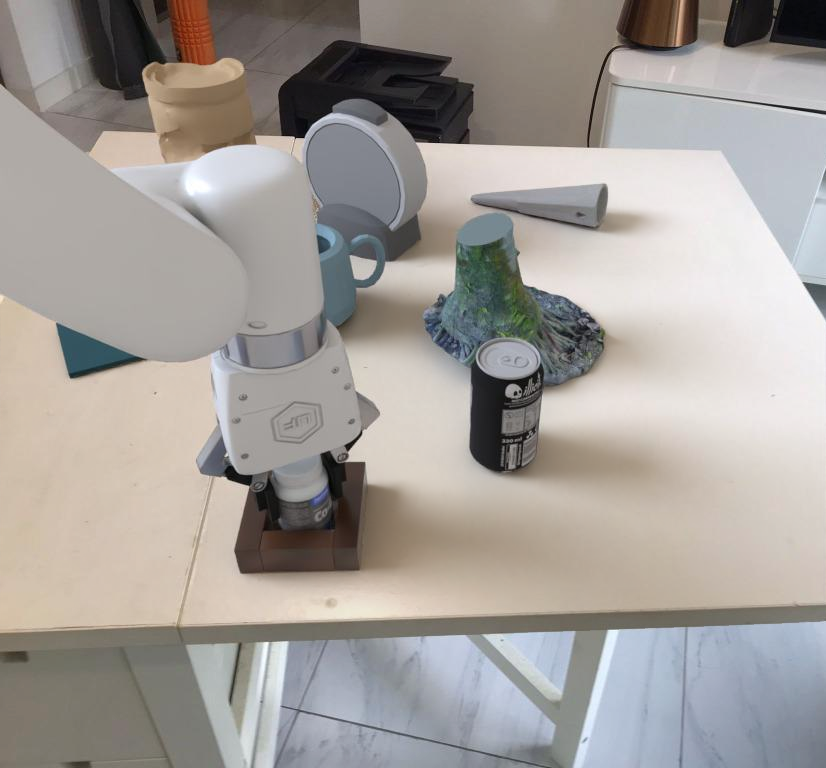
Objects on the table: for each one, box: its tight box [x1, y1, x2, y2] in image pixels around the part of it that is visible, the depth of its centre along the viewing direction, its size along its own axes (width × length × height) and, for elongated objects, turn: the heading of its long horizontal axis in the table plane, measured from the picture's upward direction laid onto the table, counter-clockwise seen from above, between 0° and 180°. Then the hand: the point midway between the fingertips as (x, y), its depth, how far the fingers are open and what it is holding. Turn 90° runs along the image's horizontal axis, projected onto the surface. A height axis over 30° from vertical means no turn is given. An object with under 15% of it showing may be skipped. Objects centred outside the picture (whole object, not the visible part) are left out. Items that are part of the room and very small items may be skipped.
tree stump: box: [422, 212, 606, 387], centre depth 88 cm, size 18×20×18 cm
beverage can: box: [468, 338, 544, 473], centre depth 75 cm, size 7×7×12 cm
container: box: [141, 57, 258, 164], centre depth 109 cm, size 13×13×18 cm
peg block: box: [233, 461, 368, 574], centre depth 70 cm, size 10×10×3 cm
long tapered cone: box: [470, 183, 609, 228], centre depth 116 cm, size 6×6×19 cm
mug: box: [315, 222, 386, 329], centre depth 92 cm, size 15×11×10 cm
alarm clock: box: [301, 98, 429, 262], centre depth 103 cm, size 16×10×18 cm, turn 62°
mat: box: [55, 322, 145, 379], centre depth 89 cm, size 10×10×1 cm
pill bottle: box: [270, 454, 335, 531], centre depth 68 cm, size 5×5×8 cm
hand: (302, 497), depth 68 cm, fingers closed on pill bottle, 4 cm apart
